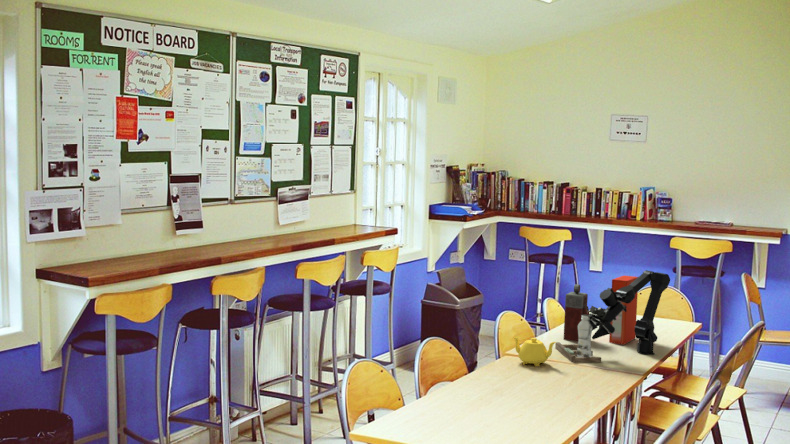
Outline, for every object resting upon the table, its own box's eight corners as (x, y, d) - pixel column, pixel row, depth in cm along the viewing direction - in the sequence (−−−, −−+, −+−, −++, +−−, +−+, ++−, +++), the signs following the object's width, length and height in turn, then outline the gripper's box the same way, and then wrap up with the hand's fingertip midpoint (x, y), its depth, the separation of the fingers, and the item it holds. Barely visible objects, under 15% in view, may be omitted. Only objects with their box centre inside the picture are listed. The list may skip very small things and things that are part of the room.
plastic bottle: (591, 360, 353) (593, 317, 351) (576, 359, 355) (578, 316, 353) (590, 357, 360) (593, 314, 358) (575, 356, 361) (578, 313, 359)
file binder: (608, 342, 389) (612, 279, 387) (619, 336, 404) (623, 275, 401) (624, 345, 385) (628, 281, 382) (635, 338, 399) (638, 277, 396)
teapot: (560, 362, 349) (561, 337, 348) (550, 370, 336) (551, 344, 335) (517, 356, 358) (518, 331, 357) (506, 363, 345) (507, 338, 344)
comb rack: (583, 348, 375) (583, 340, 375) (601, 362, 351) (601, 354, 351) (555, 348, 374) (555, 340, 374) (571, 362, 350) (571, 353, 350)
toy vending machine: (585, 342, 387) (588, 287, 385) (563, 339, 393) (565, 284, 390) (590, 339, 395) (592, 284, 393) (568, 336, 401) (571, 282, 398)
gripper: (592, 296, 365) (568, 319, 364) (609, 304, 347) (585, 329, 346) (606, 312, 367) (583, 335, 366) (625, 321, 349) (601, 345, 348)
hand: (588, 336), depth 357 cm, fingers open, 9 cm apart
